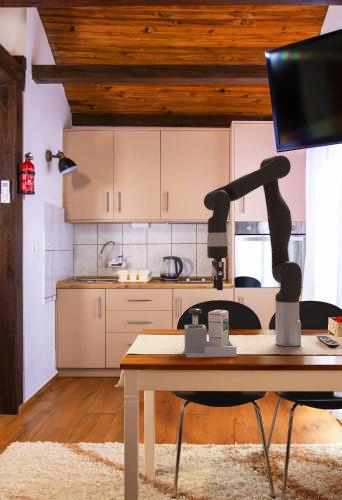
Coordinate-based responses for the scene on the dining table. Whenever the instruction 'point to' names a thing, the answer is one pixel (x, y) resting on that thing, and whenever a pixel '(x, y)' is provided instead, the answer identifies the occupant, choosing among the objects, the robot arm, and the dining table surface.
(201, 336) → the tray
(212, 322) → the syrup box
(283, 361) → the dining table surface
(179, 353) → the dining table surface
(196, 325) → the black knob with stem
